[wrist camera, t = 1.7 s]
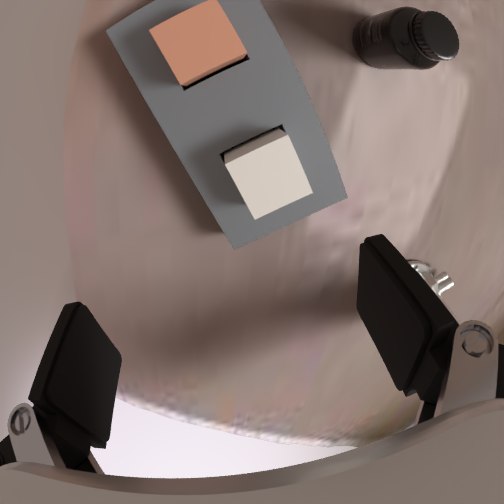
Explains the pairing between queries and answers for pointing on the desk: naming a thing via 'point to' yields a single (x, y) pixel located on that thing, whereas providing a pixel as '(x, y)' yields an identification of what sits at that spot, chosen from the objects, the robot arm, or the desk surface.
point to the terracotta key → (198, 42)
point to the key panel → (231, 113)
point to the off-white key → (267, 172)
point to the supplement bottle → (405, 39)
